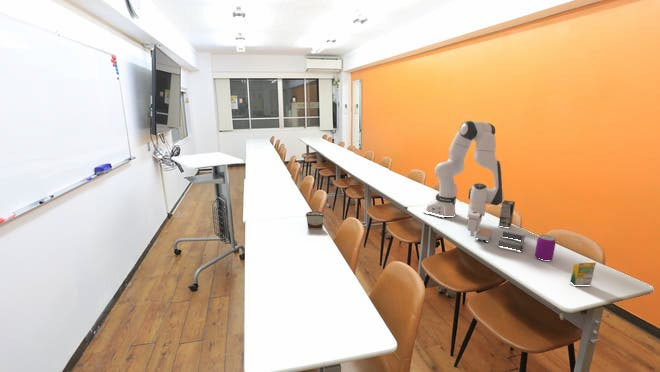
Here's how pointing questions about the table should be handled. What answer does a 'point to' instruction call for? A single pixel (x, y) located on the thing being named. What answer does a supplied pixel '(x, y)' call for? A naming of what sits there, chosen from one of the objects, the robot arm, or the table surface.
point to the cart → (483, 234)
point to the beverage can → (545, 247)
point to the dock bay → (512, 245)
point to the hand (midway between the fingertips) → (474, 233)
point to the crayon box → (582, 273)
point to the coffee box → (506, 213)
